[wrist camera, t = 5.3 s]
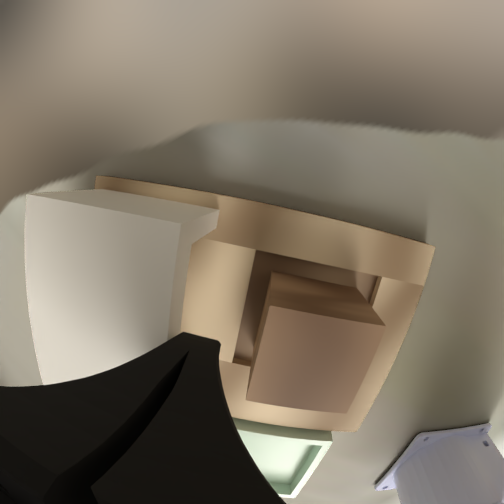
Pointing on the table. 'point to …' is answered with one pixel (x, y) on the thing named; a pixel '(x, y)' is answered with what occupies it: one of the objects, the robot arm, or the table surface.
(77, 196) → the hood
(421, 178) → the table surface
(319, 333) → the block
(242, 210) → the puzzle board
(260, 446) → the tray
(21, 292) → the table surface
